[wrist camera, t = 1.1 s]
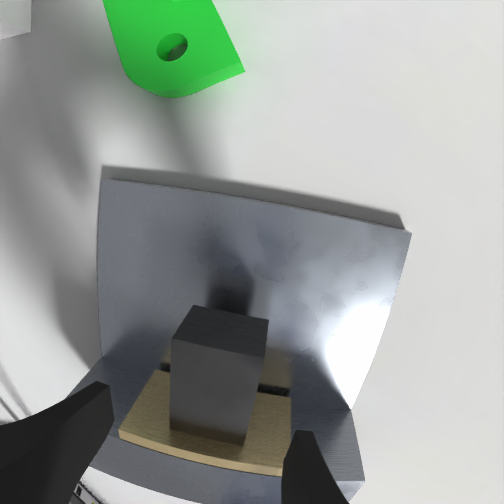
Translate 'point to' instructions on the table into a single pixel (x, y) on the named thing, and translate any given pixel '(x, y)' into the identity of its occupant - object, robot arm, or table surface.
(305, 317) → the block
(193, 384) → the grey and tan block
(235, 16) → the table surface
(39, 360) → the table surface
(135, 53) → the mechanical part
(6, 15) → the triangle block
